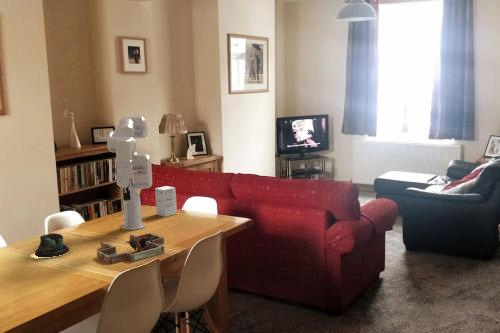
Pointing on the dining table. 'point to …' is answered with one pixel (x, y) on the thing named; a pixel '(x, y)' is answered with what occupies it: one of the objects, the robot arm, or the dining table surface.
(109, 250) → the trap lane
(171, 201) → the supplement box
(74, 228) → the dining table surface
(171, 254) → the dining table surface
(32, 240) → the dining table surface
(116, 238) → the dining table surface
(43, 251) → the dark green fedora
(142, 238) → the pottery mug
